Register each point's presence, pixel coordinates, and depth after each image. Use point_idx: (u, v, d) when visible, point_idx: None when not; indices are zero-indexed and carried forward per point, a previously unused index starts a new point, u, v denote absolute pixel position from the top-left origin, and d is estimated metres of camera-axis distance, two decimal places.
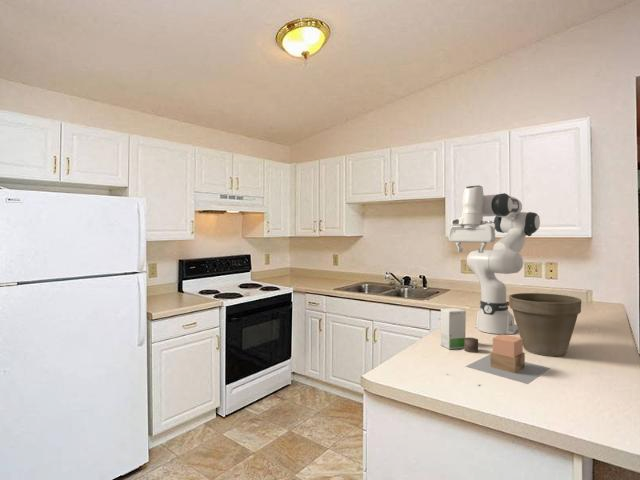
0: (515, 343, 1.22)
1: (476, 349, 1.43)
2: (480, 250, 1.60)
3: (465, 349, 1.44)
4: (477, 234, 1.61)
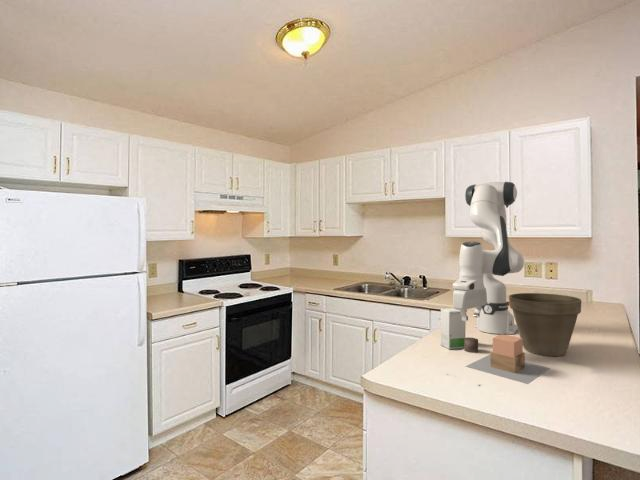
0: (515, 343, 1.22)
1: (476, 349, 1.43)
2: (479, 315, 1.47)
3: (465, 349, 1.44)
4: (479, 298, 1.46)
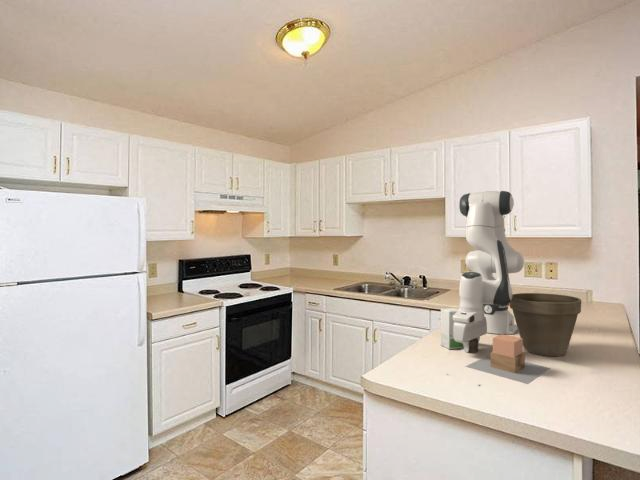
0: (515, 343, 1.22)
1: (476, 349, 1.43)
2: None
3: None
4: (480, 328, 1.46)
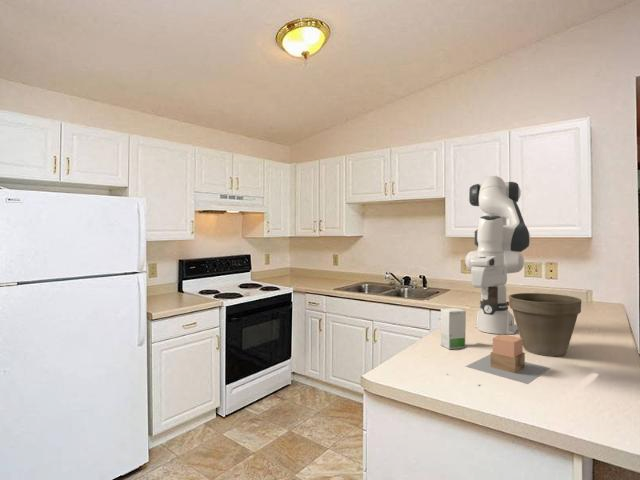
0: (515, 343, 1.22)
1: (496, 297, 1.32)
2: None
3: None
4: (499, 276, 1.35)
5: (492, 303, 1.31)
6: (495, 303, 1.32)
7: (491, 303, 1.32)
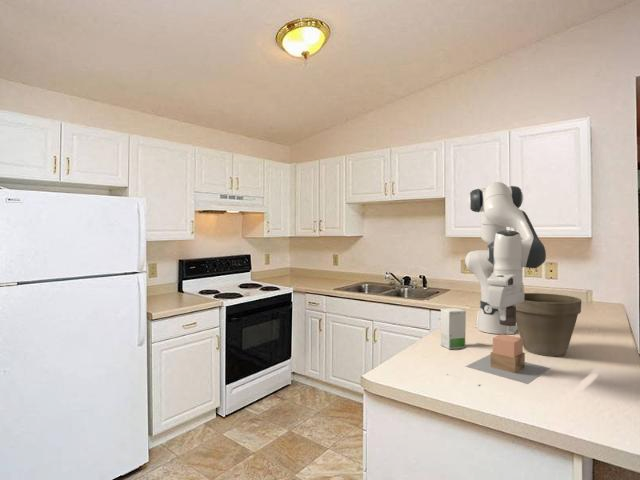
0: (515, 343, 1.22)
1: (514, 317, 1.24)
2: None
3: None
4: (517, 295, 1.28)
5: (510, 324, 1.24)
6: (513, 324, 1.24)
7: (509, 324, 1.24)
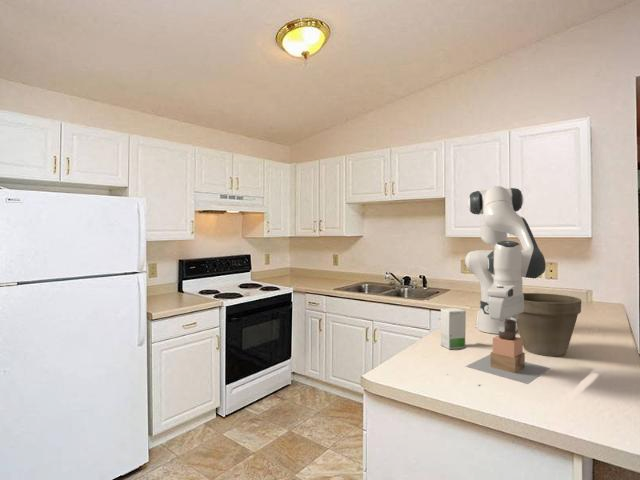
0: (515, 343, 1.22)
1: (514, 332, 1.24)
2: None
3: (501, 332, 1.26)
4: (517, 305, 1.28)
5: (510, 338, 1.24)
6: (513, 338, 1.24)
7: (509, 338, 1.24)
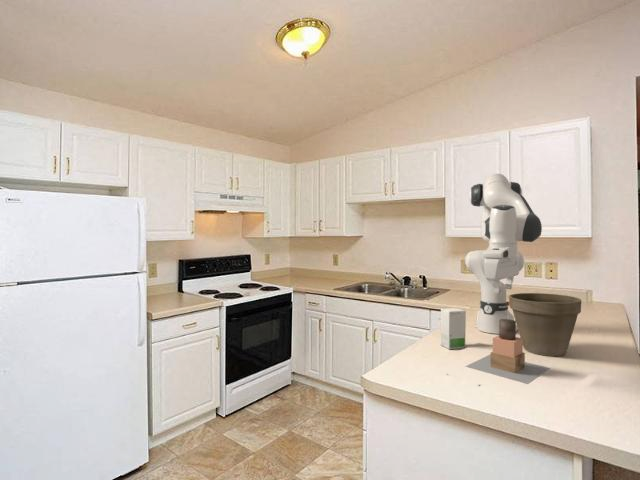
0: (515, 343, 1.22)
1: (514, 332, 1.24)
2: (511, 286, 1.33)
3: (501, 332, 1.26)
4: (512, 267, 1.31)
5: (510, 338, 1.24)
6: (513, 338, 1.24)
7: (509, 338, 1.24)
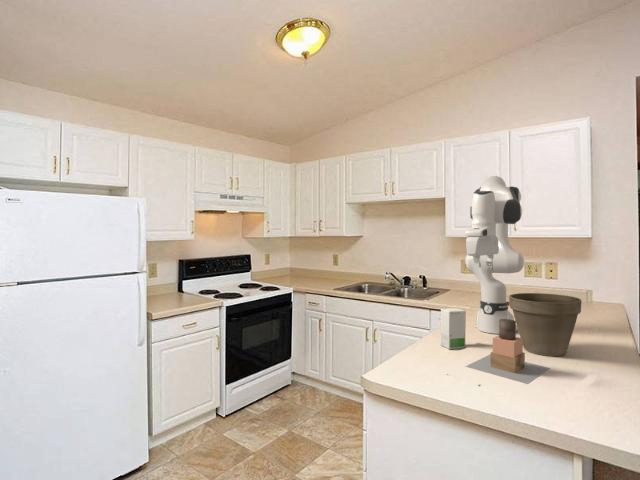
0: (515, 343, 1.22)
1: (514, 332, 1.24)
2: (491, 263, 1.49)
3: (501, 332, 1.26)
4: (492, 246, 1.48)
5: (510, 338, 1.24)
6: (513, 338, 1.24)
7: (509, 338, 1.24)
